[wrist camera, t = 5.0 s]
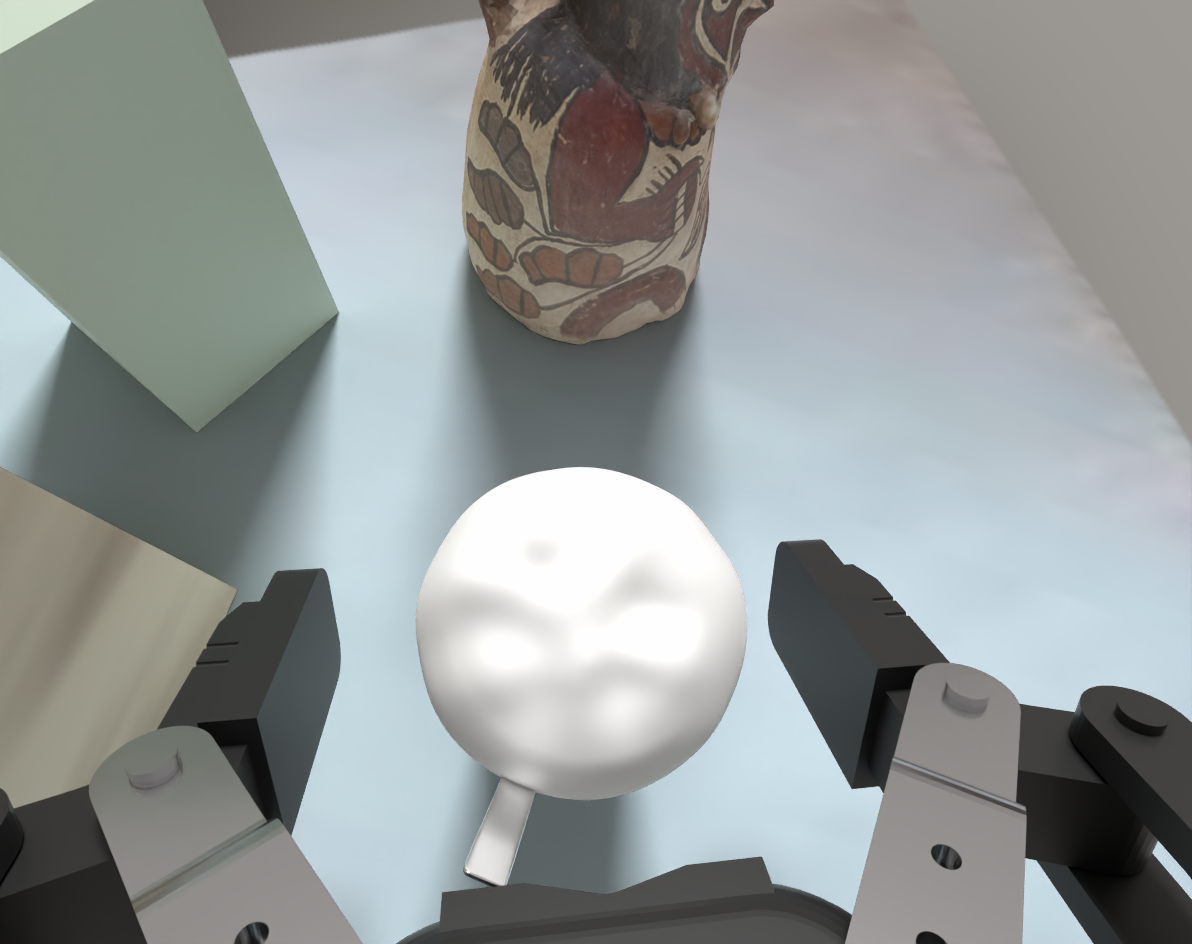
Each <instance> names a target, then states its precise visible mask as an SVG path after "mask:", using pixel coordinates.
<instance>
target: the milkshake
mask: <svg viewBox="0 0 1192 944" xmlns="http://www.w3.org/2000/svg"><path fill="white" fill-rule="evenodd" d="M416 635H417V644H418V651H419V657H420V663H421V668H422V673H423V677H424V681H425V685H426V688H427V692H428V695H429V697H430V700H431V703H432V705H433V707H434V710H435V712H436V714H437V716H438V717H439V719H440V721H441V723H442V724H443V726H444V727H445V729H446V730H447V732H448V733H449V734H450V736H451V737H452V738H453V739H454V740H455V741H456V743H457V744H458V745H459V746H460V747H461V748H462V749H463V750H464V751H465V752H466V753H468V754H469V755H470V756H471V757H472V758H473V759H475V760H476V761H477V762H478V763H480V764H481V765H482V766H484V767H485V768H487V769H488V770H490V771H491V772H493V773H494V774H496V775H497V776H499V777H501V780H500V782H499V784H498V787H497V789H496V791H495V794H494V796H493V798H492V801H491V803H490V805H489V808H488V810H487V812H486V815H485V817H484V819H483V822H482V824H481V826H480V829H479V831H478V833H477V836H476V838H475V840H474V843H473V845H472V847H471V850H470V852H469V854H468V857H467V859H466V862H465V864H464V868H463V872H464V874H465V875H466V876H468V877H470V878H472V879H474V880H477V881H479V882H481V883H484V884H486V885H488V886H490V887H496V886H505V885H507V882H508V880H509V877H510V874H511V870H512V867H513V864H514V861H515V858H516V854H517V851H518V848H519V845H520V842H521V838H522V835H523V832H524V829H525V826H526V822H527V819H528V816H529V813H530V810H531V806H532V803H533V800H534V797H535V794H536V793H539V794H543V795H547V796H552V797H557V798H564V799H573V800H597V799H606V798H612V797H616V796H620V795H624V794H627V793H630V792H633V791H636V790H639V789H641V788H643V787H646V786H648V785H650V784H652V783H654V782H656V781H658V780H659V779H661V778H663V777H665V776H666V775H668V774H669V773H671V772H672V771H674V770H675V769H677V768H678V767H679V766H681V765H682V764H683V763H684V762H686V761H687V760H688V759H689V758H690V757H691V756H693V755H694V754H695V753H696V752H697V751H698V750H699V749H700V748H701V747H702V746H703V745H704V743H705V742H706V741H707V740H708V739H709V737H710V736H711V735H712V733H713V732H714V731H715V729H716V727H717V726H718V724H719V722H720V721H721V719H722V717H723V715H724V713H725V711H726V709H727V706H728V704H729V702H730V700H731V697H732V695H733V692H734V690H735V687H736V684H737V681H738V678H739V675H740V672H741V668H742V665H743V660H744V655H745V649H746V639H747V617H746V607H745V600H744V595H743V591H742V587H741V584H740V581H739V579H738V576H737V574H736V572H735V570H734V568H733V566H732V564H731V562H730V561H729V559H728V558H727V556H726V555H725V553H724V552H723V550H722V549H721V548H720V546H719V545H718V543H717V542H716V540H715V539H714V538H713V536H712V535H711V534H710V532H709V531H708V529H707V528H706V527H705V525H704V524H703V523H702V521H701V520H700V519H699V518H698V517H697V515H696V514H695V513H694V512H693V511H692V510H691V509H690V508H689V507H688V506H687V505H686V504H685V503H683V502H682V501H681V500H679V499H678V498H677V497H675V496H674V495H672V494H670V493H668V492H667V491H665V490H663V489H661V488H659V487H657V486H655V485H653V484H650V483H648V482H646V481H643V480H641V479H638V478H636V477H633V476H630V475H627V474H623V473H620V472H616V471H612V470H607V469H600V468H591V467H571V468H560V469H553V470H547V471H541V472H536V473H532V474H528V475H524V476H521V477H518V478H515V479H512V480H510V481H507V482H505V483H503V484H501V485H499V486H497V487H495V488H494V489H492V490H490V491H489V492H487V493H486V494H485V495H483V496H482V497H481V498H479V499H478V500H477V501H476V502H474V503H473V504H472V505H471V506H470V507H469V508H468V509H467V510H466V511H465V512H464V513H463V514H462V515H461V517H460V518H459V519H458V520H457V522H456V523H455V524H454V526H453V527H452V528H451V530H450V531H449V533H448V535H447V536H446V538H445V539H444V541H443V543H442V544H441V546H440V548H439V550H438V552H437V554H436V555H435V557H434V559H433V561H432V563H431V565H430V567H429V569H428V571H427V573H426V576H425V578H424V581H423V583H422V586H421V590H420V593H419V597H418V602H417V610H416Z"/></svg>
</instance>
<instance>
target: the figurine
mask: <svg viewBox="0 0 1192 944" xmlns="http://www.w3.org/2000/svg"><path fill="white" fill-rule="evenodd" d="M479 3H480V6H481V9H482V12H483V15H484V18H485V21H486V26H487V30H488V34H489V38H490V40H489V44H488V47H487V50H486V54H485V57H484V60H483V64H482V67H481V70H480V74H479V77H478V81H477V85H476V89H475V93H474V98H473V103H472V108H471V113H470V118H469V123H468V128H467V140H466V153H465V170H464V183H463V196H462V216H463V226H464V231H465V236H466V240H467V245H468V249H469V254H470V258H471V261H472V264H473V267H474V269H475V271H476V273H477V274H478V276H479V278H480V280H481V281H482V283H483V285H484V287H485V289H486V291H487V293H488V295H489V296H490V298H492V299H493V300H494V301H495V302H496V303H497V304H499V305H500V306H501V307H502V308H503V309H505V310H506V311H507V312H508V313H509V314H510V315H512V316H513V317H514V318H516V319H517V320H518V321H519V322H521V323H522V324H523V325H525V326H526V327H527V328H529V329H530V330H531V331H533V332H536V333H538V334H540V335H542V336H545V337H548V338H551V339H554V340H557V341H562V342H566V343H571V344H581V345H583V344H585V343H588V342H590V341H594V340H602V339H609V338H617V337H619V336H621V335H624V334H626V333H628V332H631V331H634V330H636V329H639V328H640V327H641V326H643V325H644V324H645V323H652V322H654V321H656V320H658V321H663V320H665V319H667V318H669V317H671V316H672V315H674V314H675V313H677V312H679V311H680V310H681V308H682V306H683V304H684V301H685V297H686V293H687V291H688V288H689V286H690V284H691V282H692V281H693V280H694V278H695V277H696V274H697V271H698V268H699V264H700V256H701V252H702V248H703V244H704V240H705V236H706V230H707V223H708V212H709V191H708V177H709V171H710V164H711V157H712V149H713V142H714V134H715V124H716V122H717V119H718V117H719V113H720V107H721V101H722V98H723V94H724V91H725V88H726V86H727V85H728V83H729V81H730V79H731V78H732V76H733V74H734V72H735V70H736V69H737V66H738V62H739V58H740V49H741V44H742V41H743V38H744V35H745V33H746V30H747V28H748V27H749V26H750V25H751V24H752V23H753V22H754V21H755V20H756V19H757V18H758V17H759V16H761V15H762V14H764V13H765V12H767V11H768V10H769V9H770V8H771V7H773V6H774V0H479Z"/></svg>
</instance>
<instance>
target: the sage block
mask: <svg viewBox="0 0 1192 944" xmlns="http://www.w3.org/2000/svg"><path fill="white" fill-rule="evenodd" d="M0 257H1V258H3V259H4V260H5V261H6V262H7V263H8V264H9V265H10V266H11V267H12V268H13V269H15V270H16V271H17V272H18V273H19V274H20V275H21V276H22V277H23V278H24V279H25V280H26V281H28V282H29V283H30V284H31V285H32V286H33V287H34V288H35V289H36V290H37V291H38V292H40V293H41V294H42V295H43V296H44V297H45V298H46V299H47V300H48V301H49V302H50V303H52V304H53V305H54V306H55V307H56V308H57V309H58V310H59V311H60V312H61V313H62V314H63V315H65V316H66V317H67V318H68V319H69V320H70V321H71V322H72V323H73V324H74V325H76V326H77V327H78V328H79V329H80V330H81V331H82V332H84V333H85V334H86V335H87V336H88V337H89V338H90V339H91V340H93V341H94V342H95V343H96V344H97V345H98V346H99V347H100V348H102V349H103V350H104V351H105V352H106V353H107V354H108V355H110V356H111V357H112V358H113V359H114V360H115V361H116V362H117V363H119V364H120V365H121V366H122V367H123V368H124V369H125V370H126V371H128V372H129V373H130V374H131V375H132V376H133V377H134V378H135V379H137V380H138V381H139V382H140V383H141V384H142V385H143V386H145V387H146V388H147V389H148V390H149V391H150V392H151V393H152V394H154V395H155V396H156V397H157V398H158V399H159V400H160V401H161V402H163V403H164V404H165V405H166V406H167V407H168V408H169V409H170V410H172V411H173V412H174V413H175V414H176V415H177V416H178V417H180V418H181V419H182V420H183V421H184V422H185V423H186V424H187V425H189V426H190V427H191V428H192V429H193V430H194V431H195V432H196V433H197V432H198V431H200V430H201V429H202V428H203V427H204V426H205V425H207V424H208V423H209V422H210V421H211V420H213V419H214V418H215V417H216V416H217V415H218V414H220V413H221V412H222V411H223V410H224V409H225V408H227V407H228V406H229V405H230V404H231V403H233V402H234V401H235V400H236V399H237V398H238V397H240V396H241V395H242V394H243V393H244V392H246V391H247V390H248V389H249V388H250V387H251V386H253V385H254V384H255V383H256V382H257V381H259V380H260V379H261V378H262V377H263V376H264V375H266V374H267V373H268V372H269V371H270V370H271V369H273V368H274V367H275V366H276V365H277V364H279V363H280V362H281V361H282V360H283V359H284V358H286V357H287V356H288V355H289V354H290V353H292V352H293V351H294V350H295V349H296V348H297V347H299V346H300V345H301V344H302V343H303V342H304V341H306V340H307V339H308V338H309V337H310V336H312V335H313V334H314V333H315V332H316V331H317V330H319V329H320V328H321V327H322V326H323V325H325V324H326V323H327V322H328V321H329V320H330V319H332V318H333V317H334V316H335V315H336V314H338V313H339V311H338V309H337V307H336V304H335V302H334V300H333V298H332V295H331V293H330V291H329V288H328V286H327V284H326V281H325V279H324V277H323V275H322V272H321V270H320V268H319V265H318V263H317V261H316V259H315V256H314V254H313V252H312V249H311V247H310V245H309V243H308V240H307V238H306V236H305V233H304V231H303V229H302V227H301V224H300V222H299V220H298V217H297V215H296V213H295V211H294V208H293V206H292V204H291V201H290V199H289V197H288V195H287V192H286V190H285V188H284V185H283V183H282V181H281V179H280V176H279V174H278V172H277V169H276V167H275V165H274V163H273V160H272V158H271V156H270V153H269V151H268V149H267V147H266V144H265V142H264V140H263V137H262V135H261V133H260V131H259V128H258V126H257V124H256V121H255V119H254V117H253V115H252V112H251V110H250V108H249V105H248V103H247V101H246V99H245V96H244V94H243V92H242V89H241V87H240V85H239V83H238V80H237V78H236V76H235V73H234V71H233V69H232V67H231V64H230V62H229V60H228V57H227V55H226V53H225V51H224V48H223V46H222V44H221V42H220V39H219V37H218V35H217V32H216V30H215V28H214V26H213V23H212V21H211V19H210V16H209V14H208V12H207V9H206V7H205V5H204V3H203V0H0Z"/></svg>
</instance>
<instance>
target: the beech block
mask: <svg viewBox="0 0 1192 944" xmlns="http://www.w3.org/2000/svg"><path fill="white" fill-rule="evenodd" d="M236 592H237V589H236V588H234V587H232V586H230V585H228V584H226V583H224V582H222V581H220V580H218V579H216V578H214V577H212V576H210V575H208V574H206V573H205V572H203V571H201V570H199V569H197V568H195V567H193V566H191V565H189V564H187V563H185V562H183V561H181V560H179V559H177V558H175V557H174V556H172V555H170V554H168V553H166V552H164V551H162V550H160V549H158V548H156V547H154V546H152V545H150V544H148V543H146V542H145V541H143V540H141V539H139V538H137V537H135V536H133V535H131V534H129V533H127V532H125V531H123V530H121V529H119V528H117V527H115V526H114V525H112V524H110V523H108V522H106V521H104V520H102V519H100V518H98V517H96V516H94V515H92V514H90V513H88V512H86V511H84V510H83V509H81V508H79V507H77V506H75V505H73V504H71V503H69V502H67V501H65V500H63V499H61V498H59V497H57V496H55V495H53V494H52V493H50V492H48V491H46V490H44V489H42V488H40V487H38V486H36V485H34V484H32V483H30V482H28V481H26V480H24V479H23V478H21V477H19V476H17V475H15V474H13V473H11V472H9V471H7V470H5V469H3V468H1V467H0V788H1V789H3V790H4V791H5V792H6V794H7V795H8V797H9V799H10V801H11V804H12V806H13V808H17V807H20V806H23V805H27V804H30V803H33V802H36V801H39V800H43V799H46V798H49V797H52V796H56V795H59V794H62V793H65V792H68V791H72V790H75V789H78V788H81V787H83V786H86V785H89V784H90V782H91V779H92V777H93V775H94V773H95V772H96V770H97V769H98V767H99V766H100V765H101V764H102V763H103V761H104V760H106V759H107V758H108V757H109V756H110V755H111V754H112V753H113V752H115V751H116V750H117V749H118V748H120V747H121V746H123V745H125V744H126V743H128V742H129V741H131V740H133V739H135V738H137V737H139V736H141V735H144V734H146V733H149V732H152V731H155V730H157V728H158V726H159V725H160V723H161V721H162V720H163V718H164V716H165V714H166V713H167V711H168V709H169V708H170V706H171V704H172V702H173V701H174V699H175V697H176V696H177V694H178V692H179V690H180V689H181V687H182V685H183V684H184V682H185V680H186V678H187V677H188V675H189V673H190V672H191V670H192V668H193V667H196V661H197V660H198V658H199V656H200V654H201V653H202V651H203V649H206V647H207V645H206V644H207V642H208V641H209V639H210V637H211V636H212V634H213V632H214V630H215V629H216V627H217V625H218V624H219V622H220V621H221V620H223V619H224V618H225V617H226V615H227V613H228V611H229V608H230V606H231V604H232V601H233V599H234V597H235V595H236Z"/></svg>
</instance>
